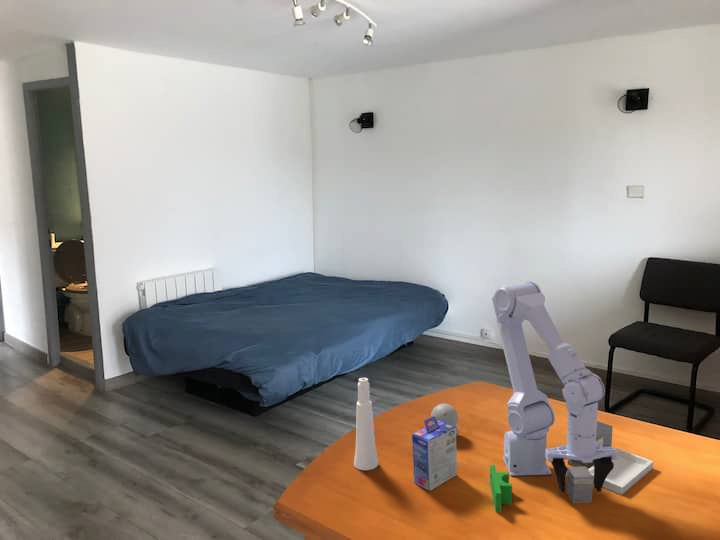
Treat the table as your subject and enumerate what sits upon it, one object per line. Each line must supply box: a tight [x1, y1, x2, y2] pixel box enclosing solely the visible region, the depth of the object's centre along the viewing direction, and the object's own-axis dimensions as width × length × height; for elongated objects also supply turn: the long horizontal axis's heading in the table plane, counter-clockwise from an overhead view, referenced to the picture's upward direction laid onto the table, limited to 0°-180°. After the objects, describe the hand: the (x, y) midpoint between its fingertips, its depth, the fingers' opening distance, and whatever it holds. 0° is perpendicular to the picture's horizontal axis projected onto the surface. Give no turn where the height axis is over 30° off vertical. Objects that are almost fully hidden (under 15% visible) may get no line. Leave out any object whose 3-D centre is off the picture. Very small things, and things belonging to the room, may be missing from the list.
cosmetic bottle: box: [353, 377, 379, 471], centre depth 135 cm, size 6×6×22 cm
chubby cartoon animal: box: [430, 403, 459, 436], centre depth 152 cm, size 7×12×8 cm, turn 0°
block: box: [565, 466, 594, 504], centre depth 121 cm, size 4×4×6 cm
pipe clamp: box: [489, 464, 513, 513], centre depth 122 cm, size 11×4×5 cm, turn 173°
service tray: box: [588, 447, 654, 496], centre depth 129 cm, size 16×9×2 cm, turn 130°
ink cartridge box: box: [411, 416, 458, 492], centre depth 129 cm, size 10×6×14 cm, turn 131°
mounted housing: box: [567, 420, 614, 469], centre depth 136 cm, size 13×5×7 cm, turn 130°
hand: (579, 489), depth 121 cm, fingers open, 7 cm apart
